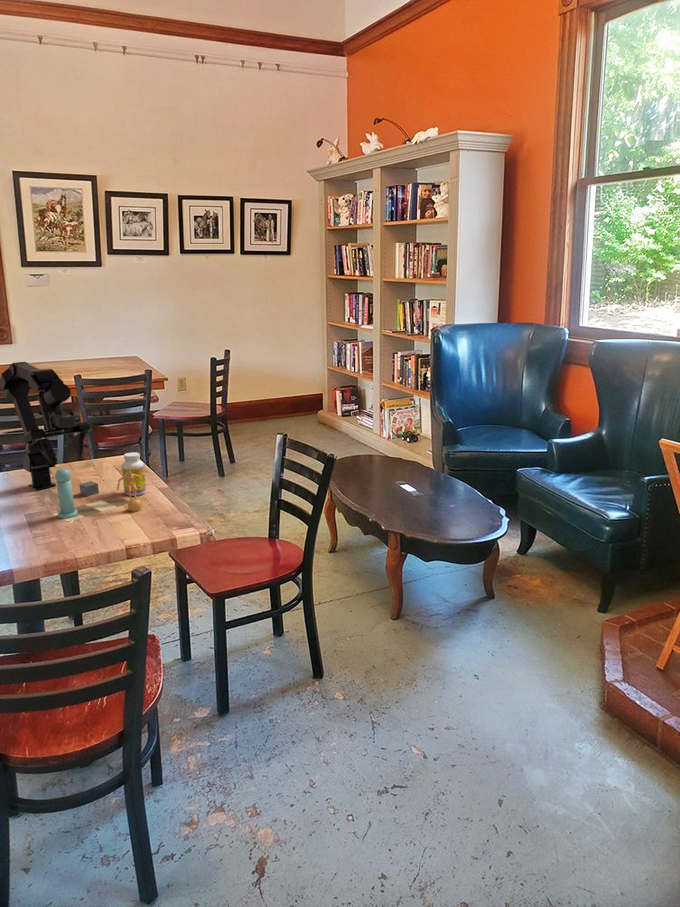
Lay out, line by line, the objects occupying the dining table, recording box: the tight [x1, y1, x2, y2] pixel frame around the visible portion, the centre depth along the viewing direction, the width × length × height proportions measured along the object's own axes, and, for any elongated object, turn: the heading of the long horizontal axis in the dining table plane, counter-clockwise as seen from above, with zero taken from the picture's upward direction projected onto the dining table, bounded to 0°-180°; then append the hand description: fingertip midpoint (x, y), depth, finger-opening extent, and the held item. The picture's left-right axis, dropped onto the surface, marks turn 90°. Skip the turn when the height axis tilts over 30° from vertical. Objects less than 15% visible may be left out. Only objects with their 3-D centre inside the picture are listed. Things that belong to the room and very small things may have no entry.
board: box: [51, 495, 130, 523], centre depth 202 cm, size 10×21×1 cm, turn 139°
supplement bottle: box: [121, 451, 147, 497], centre depth 215 cm, size 7×7×13 cm
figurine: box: [116, 471, 146, 513], centre depth 199 cm, size 8×6×12 cm
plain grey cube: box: [79, 480, 100, 498], centre depth 214 cm, size 4×4×4 cm
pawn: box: [54, 467, 78, 520], centre depth 194 cm, size 5×5×14 cm
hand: (66, 460), depth 205 cm, fingers open, 9 cm apart
